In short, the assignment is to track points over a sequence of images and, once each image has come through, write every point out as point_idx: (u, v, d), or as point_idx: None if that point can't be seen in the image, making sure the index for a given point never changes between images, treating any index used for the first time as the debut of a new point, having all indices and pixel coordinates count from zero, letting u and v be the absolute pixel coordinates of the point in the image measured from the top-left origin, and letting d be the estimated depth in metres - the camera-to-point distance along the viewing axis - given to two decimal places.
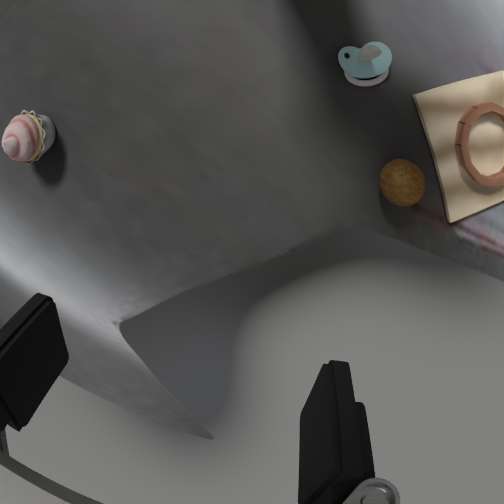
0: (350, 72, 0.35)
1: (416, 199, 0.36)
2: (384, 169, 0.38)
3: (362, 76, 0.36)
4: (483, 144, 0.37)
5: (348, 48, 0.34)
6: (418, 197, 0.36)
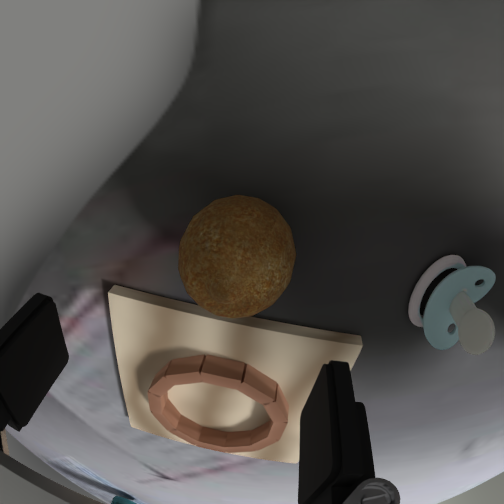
0: (463, 272, 0.19)
1: (190, 285, 0.15)
2: (290, 233, 0.16)
3: (442, 284, 0.20)
4: (220, 397, 0.27)
5: (484, 291, 0.19)
6: (193, 292, 0.15)
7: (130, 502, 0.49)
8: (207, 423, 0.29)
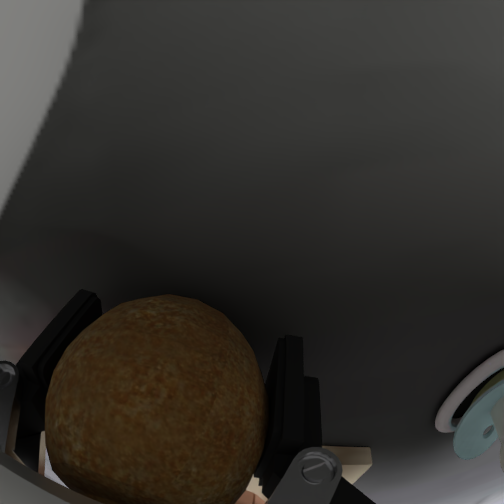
0: None
1: None
2: (255, 400, 0.07)
3: (492, 391, 0.11)
4: None
5: None
6: None
7: None
8: None
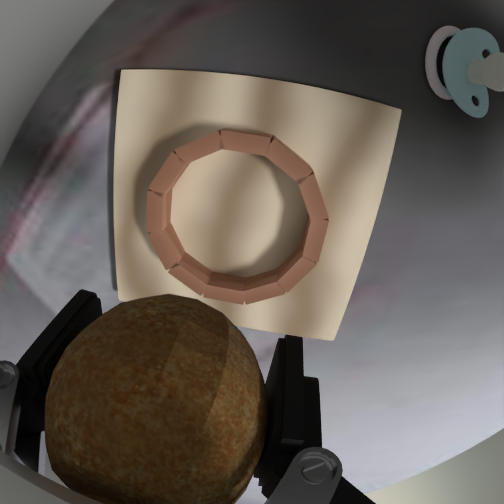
0: (466, 33, 0.15)
1: None
2: (255, 400, 0.07)
3: (451, 44, 0.16)
4: (239, 204, 0.23)
5: None
6: None
7: None
8: (219, 263, 0.25)
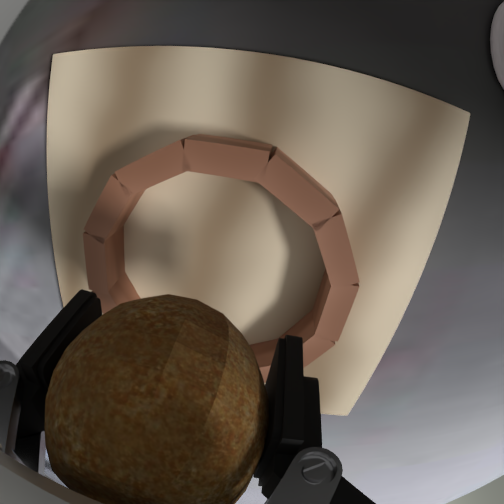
0: None
1: (69, 487, 0.05)
2: (255, 400, 0.07)
3: None
4: (220, 252, 0.15)
5: None
6: None
7: None
8: None
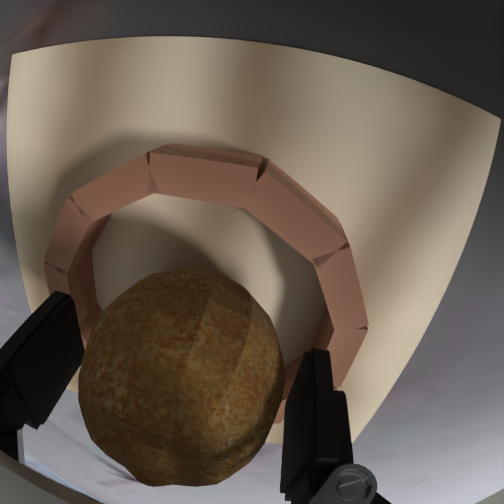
0: None
1: (99, 445, 0.07)
2: (275, 353, 0.08)
3: None
4: None
5: None
6: (106, 453, 0.07)
7: None
8: None
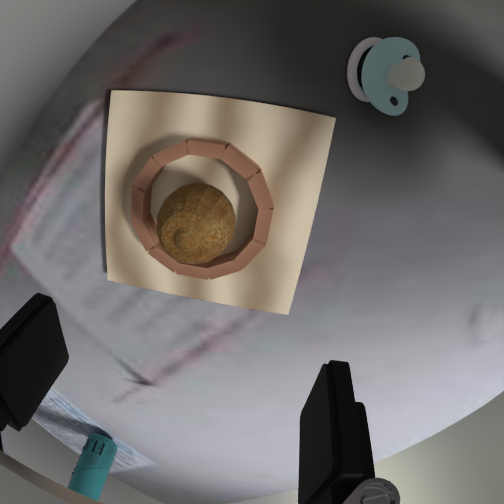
0: (385, 43, 0.21)
1: (164, 240, 0.23)
2: (230, 207, 0.24)
3: (370, 54, 0.22)
4: None
5: None
6: (165, 244, 0.23)
7: (106, 439, 0.49)
8: None
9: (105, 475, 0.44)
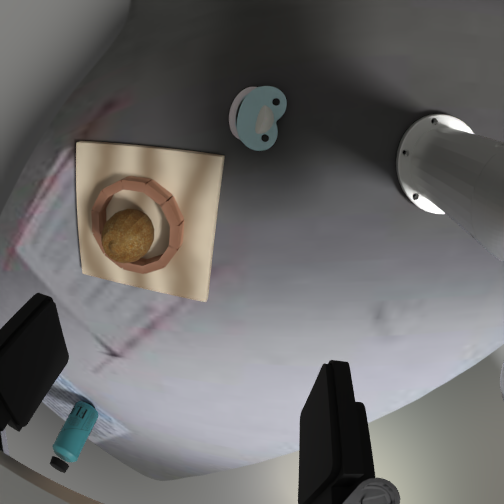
0: (255, 92, 0.32)
1: (104, 247, 0.34)
2: (146, 225, 0.36)
3: (244, 103, 0.33)
4: None
5: (282, 108, 0.33)
6: (105, 250, 0.34)
7: (89, 406, 0.61)
8: None
9: (85, 436, 0.56)
